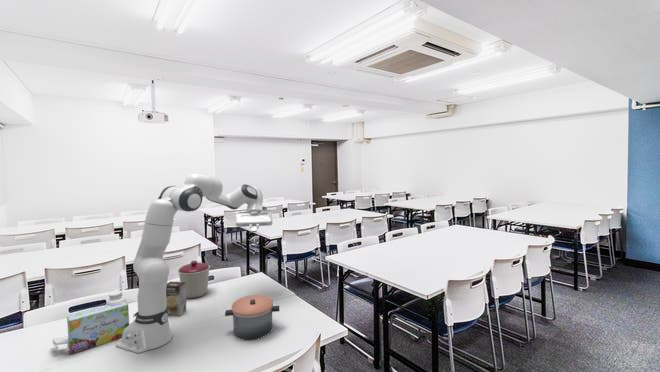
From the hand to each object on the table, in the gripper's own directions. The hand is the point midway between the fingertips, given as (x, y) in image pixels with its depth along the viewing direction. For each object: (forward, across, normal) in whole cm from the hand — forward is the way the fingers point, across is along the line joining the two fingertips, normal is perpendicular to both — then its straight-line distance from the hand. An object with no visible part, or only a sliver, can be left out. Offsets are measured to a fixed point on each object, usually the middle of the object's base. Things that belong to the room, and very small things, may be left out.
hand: (254, 231), depth 170 cm
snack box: (+47, -66, +12) cm, 82 cm away
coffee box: (+31, -42, +28) cm, 59 cm away
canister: (+15, -37, +44) cm, 60 cm away
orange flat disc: (+40, 0, +2) cm, 41 cm away
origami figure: (+50, -78, +9) cm, 93 cm away
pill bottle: (+34, -68, +25) cm, 80 cm away
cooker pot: (+48, 0, +10) cm, 50 cm away
